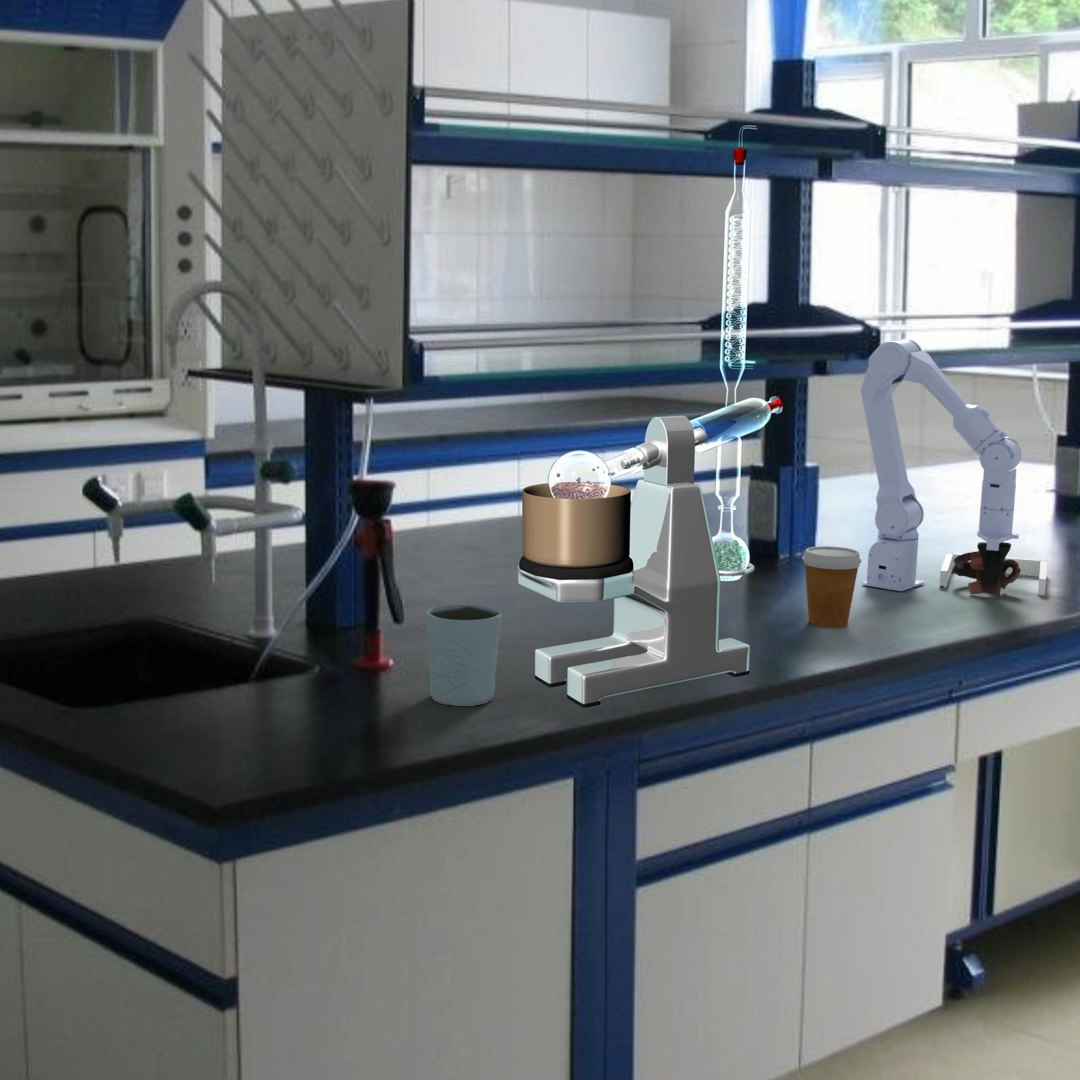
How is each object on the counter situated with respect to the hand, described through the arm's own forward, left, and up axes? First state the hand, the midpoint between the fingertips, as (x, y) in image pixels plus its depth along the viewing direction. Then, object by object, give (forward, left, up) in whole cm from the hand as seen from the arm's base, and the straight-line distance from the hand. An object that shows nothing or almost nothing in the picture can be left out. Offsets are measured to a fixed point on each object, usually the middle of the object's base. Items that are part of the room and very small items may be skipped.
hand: (991, 583), depth 314 cm
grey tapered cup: (-114, +26, -3) cm, 117 cm away
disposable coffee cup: (-39, +11, -3) cm, 40 cm away
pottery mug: (+4, +3, -3) cm, 6 cm away
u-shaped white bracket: (+13, +5, -2) cm, 15 cm away
